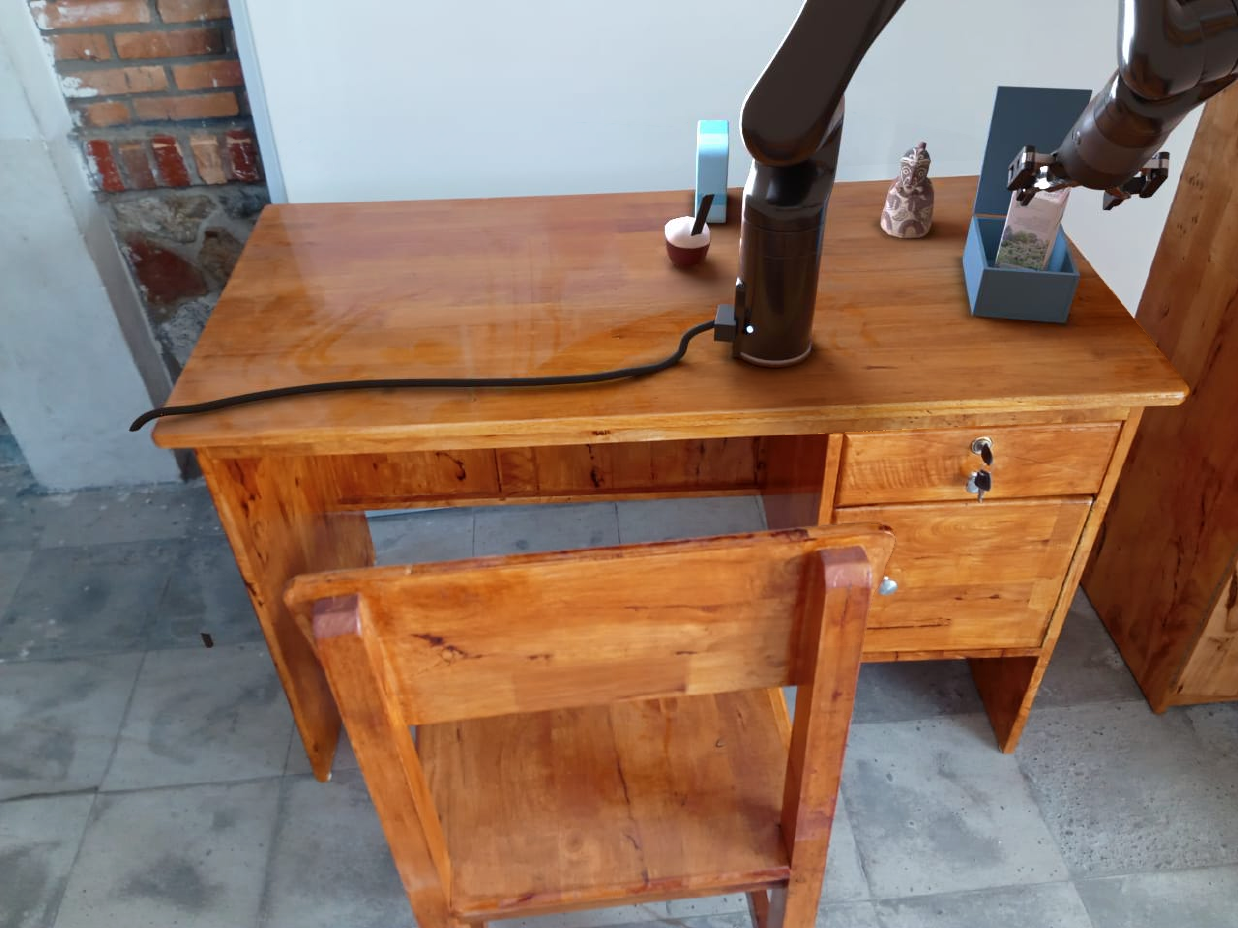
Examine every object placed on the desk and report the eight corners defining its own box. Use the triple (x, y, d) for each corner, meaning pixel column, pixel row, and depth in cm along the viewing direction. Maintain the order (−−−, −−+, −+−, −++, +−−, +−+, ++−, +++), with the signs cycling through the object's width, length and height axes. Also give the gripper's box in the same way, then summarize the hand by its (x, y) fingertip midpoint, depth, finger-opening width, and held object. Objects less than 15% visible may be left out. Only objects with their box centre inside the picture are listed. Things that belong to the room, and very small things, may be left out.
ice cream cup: (662, 248, 137) (663, 167, 129) (706, 247, 137) (709, 166, 129) (668, 280, 130) (668, 197, 122) (714, 279, 130) (717, 195, 122)
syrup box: (1042, 289, 124) (1073, 182, 115) (1030, 309, 121) (1062, 200, 111) (998, 278, 127) (1025, 173, 118) (985, 298, 123) (1012, 190, 114)
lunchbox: (1065, 323, 119) (1080, 275, 115) (971, 316, 121) (983, 269, 117) (1047, 266, 130) (1060, 221, 126) (962, 260, 132) (972, 215, 128)
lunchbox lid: (1092, 90, 118) (1091, 89, 118) (998, 86, 120) (997, 85, 120) (1061, 219, 126) (1060, 218, 126) (973, 214, 128) (972, 212, 128)
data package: (725, 226, 142) (729, 147, 134) (694, 226, 142) (697, 147, 135) (724, 193, 151) (728, 117, 144) (696, 193, 152) (698, 117, 144)
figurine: (872, 230, 140) (884, 150, 132) (891, 213, 144) (904, 134, 137) (919, 242, 137) (935, 160, 129) (937, 224, 141) (953, 144, 134)
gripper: (1203, 98, 88) (1136, 170, 104) (1040, 92, 90) (999, 163, 106) (1197, 177, 87) (1131, 237, 103) (1033, 168, 89) (993, 228, 105)
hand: (1064, 199), depth 105 cm, fingers open, 8 cm apart
